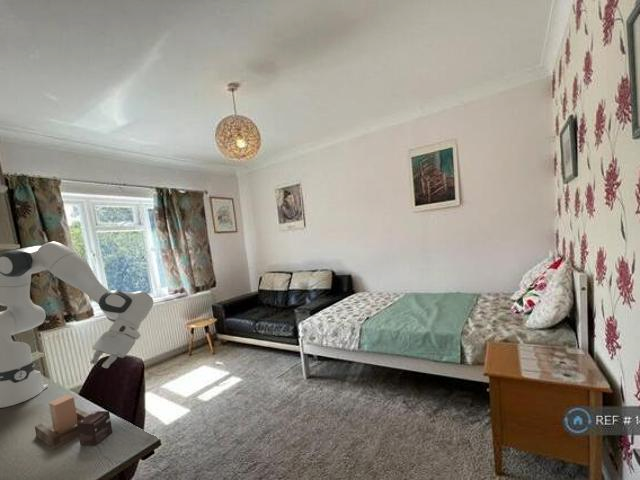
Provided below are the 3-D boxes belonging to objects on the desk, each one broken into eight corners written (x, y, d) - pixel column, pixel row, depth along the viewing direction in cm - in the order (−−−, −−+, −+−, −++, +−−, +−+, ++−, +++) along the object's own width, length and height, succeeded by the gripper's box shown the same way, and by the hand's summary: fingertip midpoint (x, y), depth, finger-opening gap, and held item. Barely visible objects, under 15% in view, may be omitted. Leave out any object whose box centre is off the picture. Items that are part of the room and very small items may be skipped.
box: (95, 446, 89) (91, 423, 89) (79, 445, 90) (76, 423, 90) (113, 432, 95) (109, 410, 95) (98, 431, 96) (95, 410, 96)
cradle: (36, 436, 98) (34, 426, 98) (76, 416, 108) (74, 406, 107) (54, 449, 90) (53, 438, 90) (96, 426, 99) (94, 416, 99)
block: (53, 431, 98) (49, 402, 98) (72, 422, 102) (67, 394, 102) (59, 435, 95) (54, 405, 95) (78, 425, 100) (73, 397, 99)
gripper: (103, 325, 119) (78, 359, 111) (129, 328, 109) (103, 366, 101) (117, 331, 123) (93, 365, 115) (143, 335, 113) (119, 372, 105)
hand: (98, 365), depth 108 cm, fingers open, 8 cm apart
